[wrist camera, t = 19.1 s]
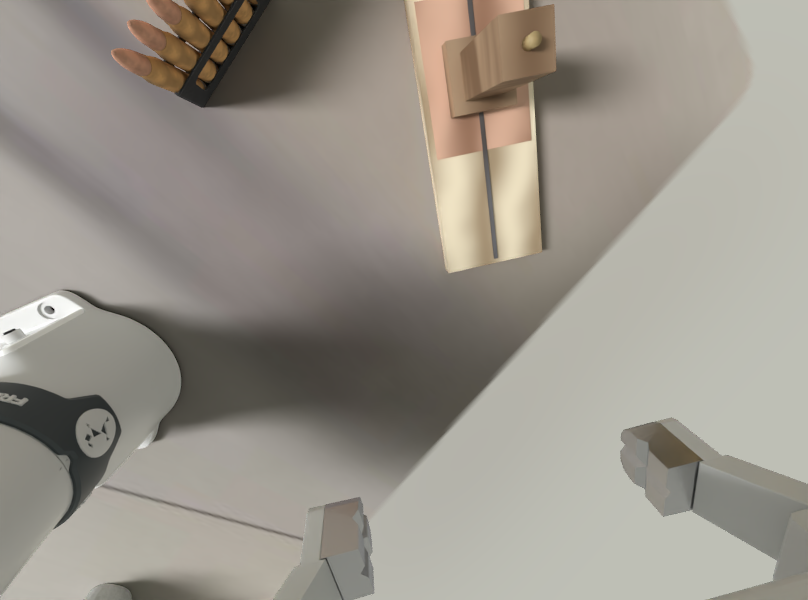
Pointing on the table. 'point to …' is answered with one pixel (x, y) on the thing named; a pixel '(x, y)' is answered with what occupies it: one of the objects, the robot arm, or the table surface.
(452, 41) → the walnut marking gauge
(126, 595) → the house plant
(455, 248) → the maple board
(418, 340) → the table surface
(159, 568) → the table surface
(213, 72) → the ammunition clip
